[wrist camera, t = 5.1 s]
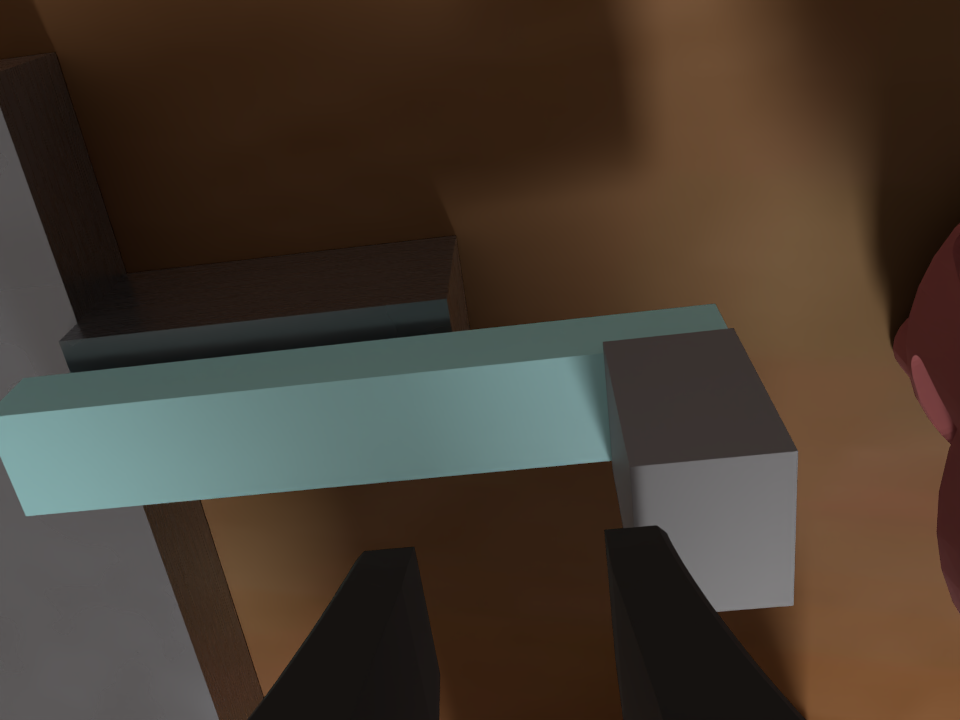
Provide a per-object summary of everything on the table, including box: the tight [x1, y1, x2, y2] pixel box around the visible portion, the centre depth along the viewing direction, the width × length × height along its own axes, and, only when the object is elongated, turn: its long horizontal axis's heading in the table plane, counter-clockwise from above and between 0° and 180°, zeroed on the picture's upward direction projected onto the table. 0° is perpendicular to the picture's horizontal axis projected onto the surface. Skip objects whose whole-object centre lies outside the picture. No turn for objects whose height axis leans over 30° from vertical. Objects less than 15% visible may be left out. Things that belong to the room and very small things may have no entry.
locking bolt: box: [0, 304, 798, 612], centre depth 14 cm, size 12×2×5 cm, turn 97°
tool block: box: [0, 52, 470, 720], centre depth 22 cm, size 21×26×3 cm
